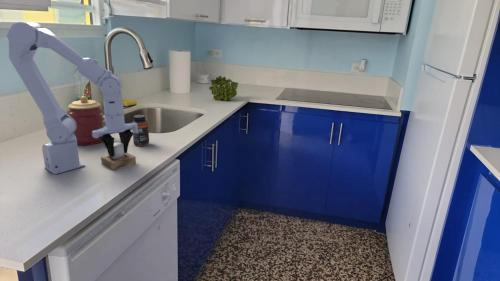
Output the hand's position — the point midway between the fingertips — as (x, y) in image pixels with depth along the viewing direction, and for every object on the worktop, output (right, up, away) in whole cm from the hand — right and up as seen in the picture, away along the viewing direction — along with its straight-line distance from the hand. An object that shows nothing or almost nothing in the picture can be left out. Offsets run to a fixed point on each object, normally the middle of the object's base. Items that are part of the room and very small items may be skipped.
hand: (118, 154), depth 112 cm
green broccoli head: (+26, +30, +106) cm, 114 cm away
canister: (-20, +4, +23) cm, 31 cm away
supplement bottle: (+1, +3, +21) cm, 21 cm away
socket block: (0, -3, +1) cm, 3 cm away
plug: (0, -2, +1) cm, 2 cm away
